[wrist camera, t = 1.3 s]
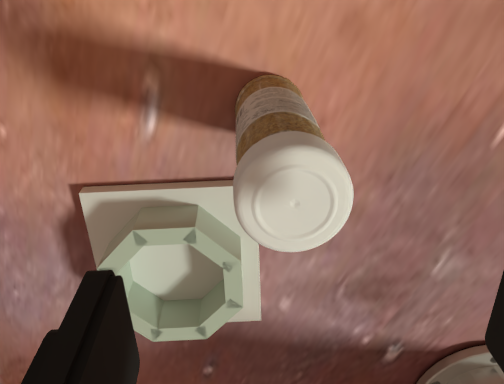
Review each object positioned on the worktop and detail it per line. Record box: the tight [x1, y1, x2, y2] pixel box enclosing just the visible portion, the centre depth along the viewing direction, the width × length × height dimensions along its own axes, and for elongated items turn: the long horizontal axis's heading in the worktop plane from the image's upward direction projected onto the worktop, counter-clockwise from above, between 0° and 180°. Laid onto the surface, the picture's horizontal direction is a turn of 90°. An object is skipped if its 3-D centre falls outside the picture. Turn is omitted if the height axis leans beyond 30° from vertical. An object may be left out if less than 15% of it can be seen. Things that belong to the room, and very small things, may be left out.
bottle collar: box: [79, 180, 261, 342], centre depth 31 cm, size 12×12×4 cm
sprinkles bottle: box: [233, 75, 354, 252], centre depth 22 cm, size 5×5×13 cm
